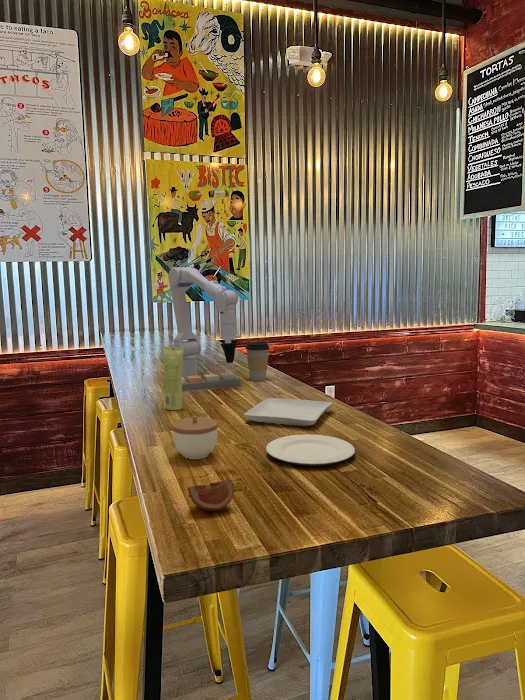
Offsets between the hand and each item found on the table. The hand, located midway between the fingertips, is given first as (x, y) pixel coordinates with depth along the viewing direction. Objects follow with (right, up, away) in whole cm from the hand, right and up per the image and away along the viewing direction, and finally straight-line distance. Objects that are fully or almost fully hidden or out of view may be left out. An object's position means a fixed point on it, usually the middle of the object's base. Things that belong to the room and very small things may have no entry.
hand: (230, 361), depth 196 cm
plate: (+23, -21, -68) cm, 75 cm away
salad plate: (+20, -16, -37) cm, 45 cm away
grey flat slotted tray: (-10, -10, +2) cm, 14 cm away
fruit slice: (+2, -25, -97) cm, 100 cm away
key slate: (-1, -7, +5) cm, 8 cm away
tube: (-16, -14, -26) cm, 34 cm away
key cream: (-19, -8, -2) cm, 21 cm away
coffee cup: (+10, -8, +14) cm, 19 cm away
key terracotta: (-13, -7, 0) cm, 15 cm away
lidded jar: (-4, -21, -68) cm, 72 cm away
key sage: (-7, -7, +2) cm, 10 cm away
